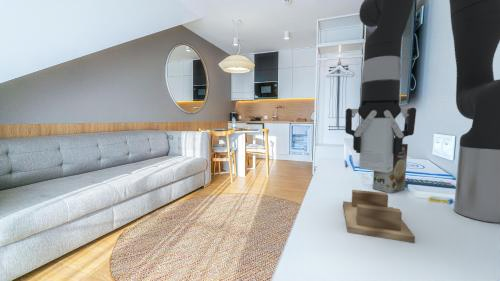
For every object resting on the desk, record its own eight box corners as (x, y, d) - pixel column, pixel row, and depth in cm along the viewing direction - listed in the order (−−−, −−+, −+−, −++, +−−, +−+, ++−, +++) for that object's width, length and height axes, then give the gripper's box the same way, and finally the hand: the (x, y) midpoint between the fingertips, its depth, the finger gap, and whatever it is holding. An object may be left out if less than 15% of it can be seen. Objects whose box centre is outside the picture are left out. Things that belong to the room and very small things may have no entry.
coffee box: (391, 193, 72) (394, 145, 71) (372, 188, 77) (374, 143, 76) (405, 189, 77) (408, 143, 75) (386, 185, 82) (388, 142, 81)
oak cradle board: (392, 211, 58) (393, 192, 57) (414, 242, 43) (416, 216, 42) (342, 205, 62) (343, 187, 61) (347, 232, 47) (348, 208, 46)
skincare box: (393, 171, 50) (397, 117, 49) (385, 173, 48) (389, 117, 47) (365, 166, 55) (368, 117, 54) (357, 168, 52) (360, 117, 51)
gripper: (412, 82, 51) (407, 153, 52) (344, 85, 56) (341, 150, 57) (425, 75, 44) (419, 158, 45) (346, 79, 49) (343, 154, 50)
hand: (376, 153), depth 51 cm, fingers closed on skincare box, 7 cm apart
